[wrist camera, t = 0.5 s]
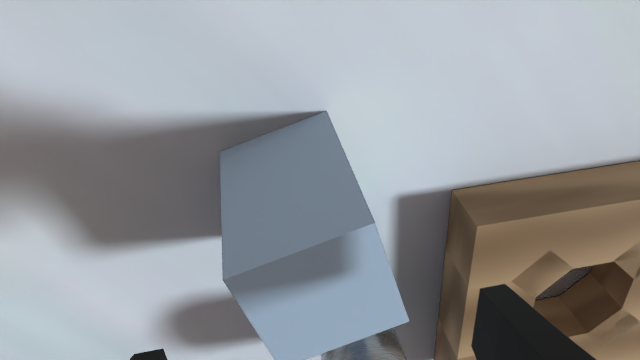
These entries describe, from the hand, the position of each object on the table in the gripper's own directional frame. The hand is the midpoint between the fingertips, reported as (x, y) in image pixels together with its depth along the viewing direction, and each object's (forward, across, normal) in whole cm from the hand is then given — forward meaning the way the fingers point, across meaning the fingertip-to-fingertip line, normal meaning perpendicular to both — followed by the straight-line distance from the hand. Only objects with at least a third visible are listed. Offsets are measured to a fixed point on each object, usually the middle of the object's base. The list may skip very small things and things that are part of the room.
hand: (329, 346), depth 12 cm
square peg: (+10, 0, +2) cm, 10 cm away
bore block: (+10, -13, +10) cm, 19 cm away
